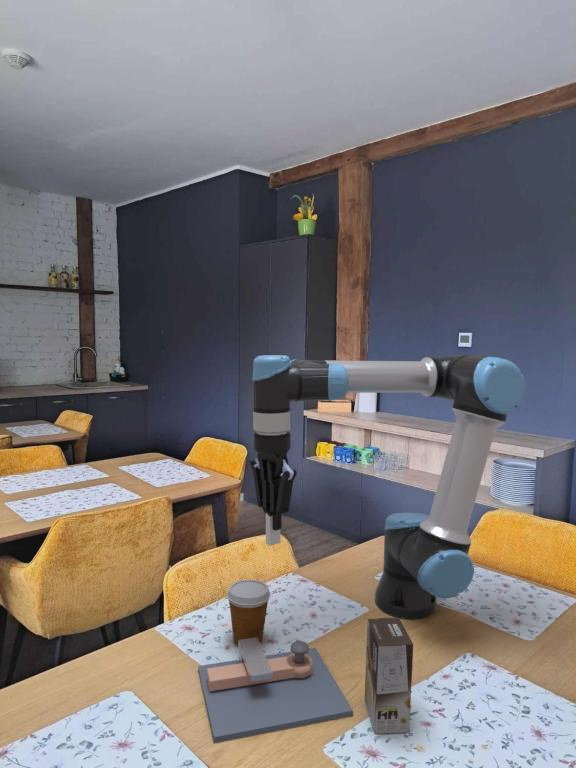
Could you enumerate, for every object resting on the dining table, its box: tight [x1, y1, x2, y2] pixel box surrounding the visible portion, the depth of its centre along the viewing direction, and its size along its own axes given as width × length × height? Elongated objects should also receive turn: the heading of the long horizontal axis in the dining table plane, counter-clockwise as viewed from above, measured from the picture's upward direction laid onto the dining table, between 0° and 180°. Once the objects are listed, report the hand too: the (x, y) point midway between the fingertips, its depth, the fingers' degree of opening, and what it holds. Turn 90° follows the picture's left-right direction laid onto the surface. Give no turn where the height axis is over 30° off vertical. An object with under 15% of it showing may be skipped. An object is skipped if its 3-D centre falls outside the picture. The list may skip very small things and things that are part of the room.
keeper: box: [237, 637, 273, 682], centre depth 107 cm, size 4×12×6 cm, turn 17°
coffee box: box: [364, 617, 414, 735], centre depth 99 cm, size 9×6×16 cm
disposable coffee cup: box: [226, 579, 272, 647], centre depth 121 cm, size 10×10×12 cm
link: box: [207, 640, 312, 691], centre depth 107 cm, size 21×5×5 cm, turn 106°
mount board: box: [197, 647, 354, 744], centre depth 105 cm, size 25×20×1 cm
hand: (273, 543), depth 115 cm, fingers closed
